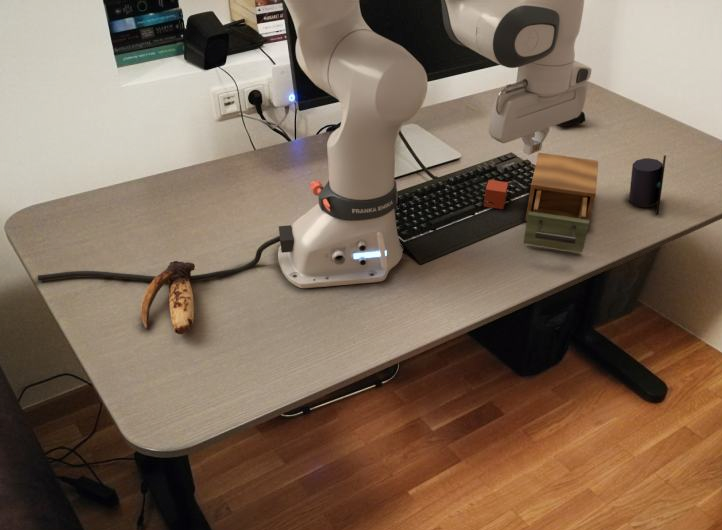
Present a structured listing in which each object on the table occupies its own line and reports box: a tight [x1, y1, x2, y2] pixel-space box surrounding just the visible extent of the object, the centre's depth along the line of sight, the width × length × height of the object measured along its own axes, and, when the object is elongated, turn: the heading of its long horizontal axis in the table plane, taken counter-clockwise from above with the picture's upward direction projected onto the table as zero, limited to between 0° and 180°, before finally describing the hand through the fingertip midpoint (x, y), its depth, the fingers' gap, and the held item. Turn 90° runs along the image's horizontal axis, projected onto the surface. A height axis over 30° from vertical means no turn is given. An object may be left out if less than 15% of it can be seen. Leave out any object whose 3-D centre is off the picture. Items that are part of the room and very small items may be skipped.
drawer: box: [523, 189, 590, 253], centre depth 127 cm, size 18×11×6 cm, turn 167°
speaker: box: [628, 154, 667, 215], centre depth 138 cm, size 8×6×10 cm
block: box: [483, 179, 509, 210], centre depth 138 cm, size 4×4×4 cm
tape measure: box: [557, 111, 586, 127], centre depth 168 cm, size 7×7×4 cm
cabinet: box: [524, 152, 599, 222], centre depth 136 cm, size 14×12×8 cm
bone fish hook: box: [140, 260, 196, 335], centre depth 111 cm, size 9×5×18 cm
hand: (531, 151), depth 122 cm, fingers closed
